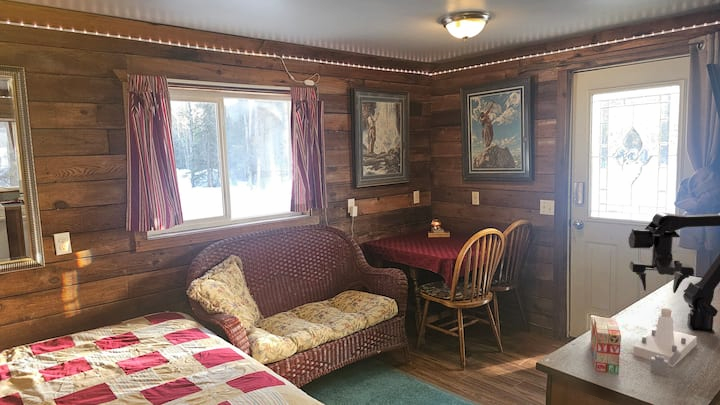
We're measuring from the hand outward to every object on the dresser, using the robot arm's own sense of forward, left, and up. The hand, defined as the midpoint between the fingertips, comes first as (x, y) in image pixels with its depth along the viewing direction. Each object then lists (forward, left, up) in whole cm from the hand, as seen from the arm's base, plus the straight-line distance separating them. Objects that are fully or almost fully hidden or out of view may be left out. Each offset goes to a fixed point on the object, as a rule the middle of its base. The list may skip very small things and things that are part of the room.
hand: (659, 291), depth 170 cm
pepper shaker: (+3, +22, -10) cm, 25 cm away
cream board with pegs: (+2, +21, -13) cm, 25 cm away
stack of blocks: (+22, +32, -13) cm, 41 cm away
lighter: (+7, +39, -13) cm, 42 cm away
